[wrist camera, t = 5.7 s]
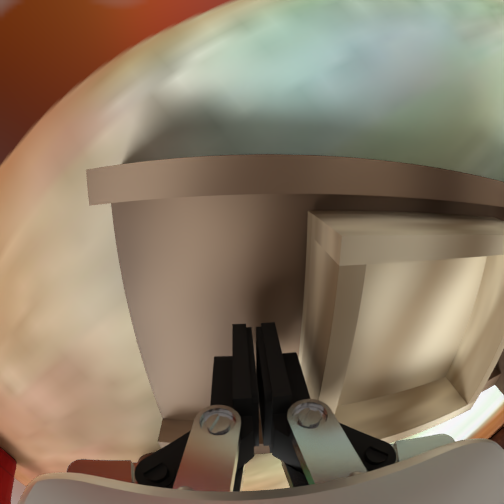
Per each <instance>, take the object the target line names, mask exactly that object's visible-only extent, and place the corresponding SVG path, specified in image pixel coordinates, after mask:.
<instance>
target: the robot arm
mask: <svg viewBox="0 0 504 504" xmlns="http://www.w3.org/2000/svg"><path fill="white" fill-rule="evenodd" d="M259 409H260V418H261V427H262V436H263V445H264V446H269V449H270V453H272V455H273V456H275V457H277V458H278V459H280V460H281V462H282V467H283V469H284V472H285V475H286V477H287V480H288V483H289V486H290V488H284V489H274V490H261V491H242V485H243V478H244V471H245V464H246V463H247V462H248V461H249V460H250V459H252V458H253V457H254V447H256V446H259ZM18 504H504V449H503V448H502V447H501V446H499V445H498V444H497V443H496V442H494V441H492V440H489V439H467V440H461V441H457V442H455V441H454V439H453V438H452V437H450V436H449V435H446V434H437V435H432V436H427V437H421V438H414V439H408V440H400V441H396V442H395V443H394V444H389V443H387V442H385V441H383V440H381V439H378V438H375V437H373V436H370V435H368V434H365V433H363V432H360V431H358V430H356V429H353V428H351V427H348V426H346V425H344V424H342V423H339V422H338V420H337V419H336V417H335V415H334V413H333V412H332V410H331V409H330V407H329V406H328V405H327V404H325V403H324V402H322V401H319V400H316V399H310V395H309V392H308V388H307V385H306V382H305V378H304V375H303V372H302V369H301V365H300V362H299V359H298V355H297V353H296V352H292V353H282V351H281V346H280V342H279V338H278V334H277V329H276V325H275V322H269V323H261V326H260V327H256V364H255V355H254V345H253V335H252V327H246V324H232V356H215V357H214V363H213V376H212V388H211V402H210V406H208V407H206V408H204V409H202V410H201V411H200V412H199V413H197V415H196V417H195V419H194V422H193V425H192V429H191V430H190V431H189V432H187V433H186V434H184V435H183V436H181V437H179V438H178V439H176V440H175V441H173V442H171V443H170V444H168V445H166V446H165V447H163V448H161V449H160V450H158V451H156V452H155V453H153V454H151V455H149V456H148V457H146V458H144V459H143V460H142V461H140V462H137V463H132V462H131V460H87V459H81V460H76V461H74V462H72V463H71V464H70V465H69V466H68V469H67V472H59V473H49V474H43V475H40V476H38V477H36V478H34V479H33V480H32V481H31V482H30V483H29V484H28V485H27V487H26V488H25V490H24V492H23V494H22V495H21V497H20V500H19V502H18Z"/></svg>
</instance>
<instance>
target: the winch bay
mask: <svg viewBox="0 0 504 504" xmlns="http://www.w3.org/2000/svg"><path fill="white" fill-rule="evenodd" d="M86 172H87V186H88V197H89V205H98V204H107V203H111V206H112V215H113V223H114V231H115V238H116V245H117V251H118V257H119V263H120V269H121V274H122V279H123V284H124V289H125V294H126V299H127V303H128V308H129V312H130V316H131V320H132V324H133V328H134V332H135V336H136V339H137V343H138V346H139V350H140V353H141V357H142V360H143V363H144V367H145V370H146V373H147V376H148V379H149V382H150V385H151V388H152V391H153V394H154V397H155V399H156V402H157V405H158V408H159V410H160V413H161V415H162V418H163V420H162V425H161V429H160V434H159V439H158V443H159V445H160V447H161V448H163V447H165V446H166V445H168V444H170V443H171V442H173V441H175V440H176V439H178V438H179V437H181V436H183V435H184V434H186V433H187V432H189V431H190V430H191V429H192V425H193V422H194V419H195V417H196V415H197V413H199V412H200V411H201V410H202V409H204V408H206V407H208V406H210V402H211V388H212V376H213V363H214V357H215V356H232V324H246V327H252V335H253V345H254V355H255V364H256V327H260V326H261V323H269V322H275V325H276V329H277V334H278V338H279V342H280V346H281V351H282V353H292V352H296V353H297V355H298V358H299V348H300V337H301V326H302V314H303V300H304V285H305V268H306V248H307V222H308V211H387V212H417V213H438V214H456V215H472V216H485V217H494V218H497V219H500V220H503V221H504V182H502V181H498V180H494V179H490V178H485V177H481V176H477V175H472V174H467V173H462V172H457V171H452V170H446V169H441V168H435V167H428V166H422V165H415V164H408V163H400V162H392V161H383V160H374V159H363V158H351V157H336V156H317V155H282V154H255V155H220V156H201V157H186V158H173V159H163V160H153V161H144V162H135V163H127V164H120V165H113V166H106V167H100V168H94V169H88V170H86ZM493 385H496V386H497V388H498V389H499V390H500V391H501V392H502V393H503V394H504V349H503V351H502V353H501V356H500V358H499V360H498V362H497V364H496V366H495V368H494V370H493V371H492V373H491V375H490V377H489V379H488V381H487V382H486V384H485V386H484V388H483V389H482V391H484V390H486V389H488V388H490V387H491V386H493ZM482 391H481V392H482ZM263 453H270V449H269V446H264V445H263V436H262V427H261V418H260V409H259V446H256V447H254V454H263Z"/></svg>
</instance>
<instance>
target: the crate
mask: <svg viewBox="0 0 504 504" xmlns="http://www.w3.org/2000/svg"><path fill="white" fill-rule="evenodd" d="M503 349H504V221H503V220H500V219H497V218H494V217H485V216H472V215H456V214H438V213H417V212H387V211H308V222H307V248H306V268H305V285H304V300H303V314H302V326H301V337H300V348H299V358H298V359H299V362H300V365H301V369H302V372H303V375H304V378H305V382H306V385H307V388H308V392H309V395H310V399H316V400H319V401H322V402H324V403H325V404H327V405H328V406H329V407H330V409H331V410H332V412H333V413H334V415H335V417H336V419H337V420H338V422H339V423H342V424H344V425H346V426H348V427H351V428H353V429H356V430H358V431H360V432H363V433H365V434H368V435H370V436H373V437H375V438H378V439H381V440H383V441H385V442H387V443H391V442H394V441H397V440H400V439H403V438H406V437H409V436H412V435H414V434H417V433H419V432H422V431H424V430H427V429H429V428H432V427H434V426H436V425H439V424H441V423H443V422H445V421H448V420H450V419H452V418H454V417H456V416H458V415H460V414H462V413H464V412H466V411H468V410H470V409H471V407H472V406H473V404H474V403H475V401H476V399H477V398H478V396H479V395H480V393H481V391H482V389H483V388H484V386H485V384H486V382H487V381H488V379H489V377H490V375H491V373H492V371H493V370H494V368H495V366H496V364H497V362H498V360H499V358H500V356H501V353H502V351H503Z"/></svg>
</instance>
